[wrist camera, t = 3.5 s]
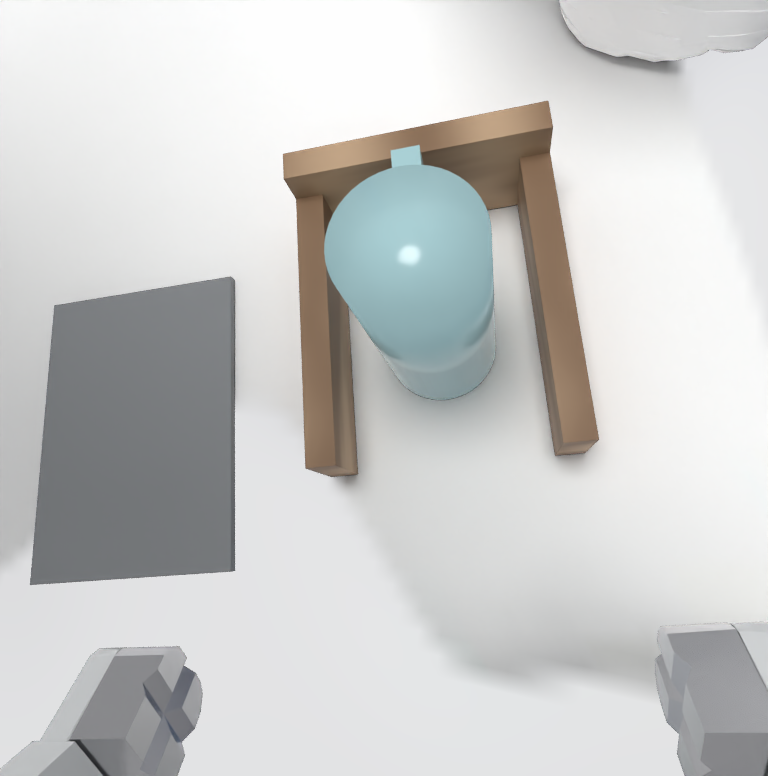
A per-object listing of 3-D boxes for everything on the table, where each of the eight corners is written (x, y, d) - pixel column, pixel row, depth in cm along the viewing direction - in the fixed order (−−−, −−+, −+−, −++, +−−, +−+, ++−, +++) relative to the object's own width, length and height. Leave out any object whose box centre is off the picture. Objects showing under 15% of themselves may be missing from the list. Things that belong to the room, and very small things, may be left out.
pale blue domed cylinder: (393, 405, 25) (327, 329, 16) (382, 261, 27) (317, 116, 18) (502, 393, 25) (502, 305, 15) (482, 245, 26) (471, 84, 17)
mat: (36, 584, 27) (30, 584, 26) (59, 308, 30) (54, 305, 30) (234, 570, 25) (230, 571, 25) (234, 280, 29) (230, 276, 28)
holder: (331, 477, 25) (291, 463, 20) (319, 217, 29) (282, 153, 24) (585, 452, 23) (606, 432, 19) (540, 177, 27) (548, 100, 22)
